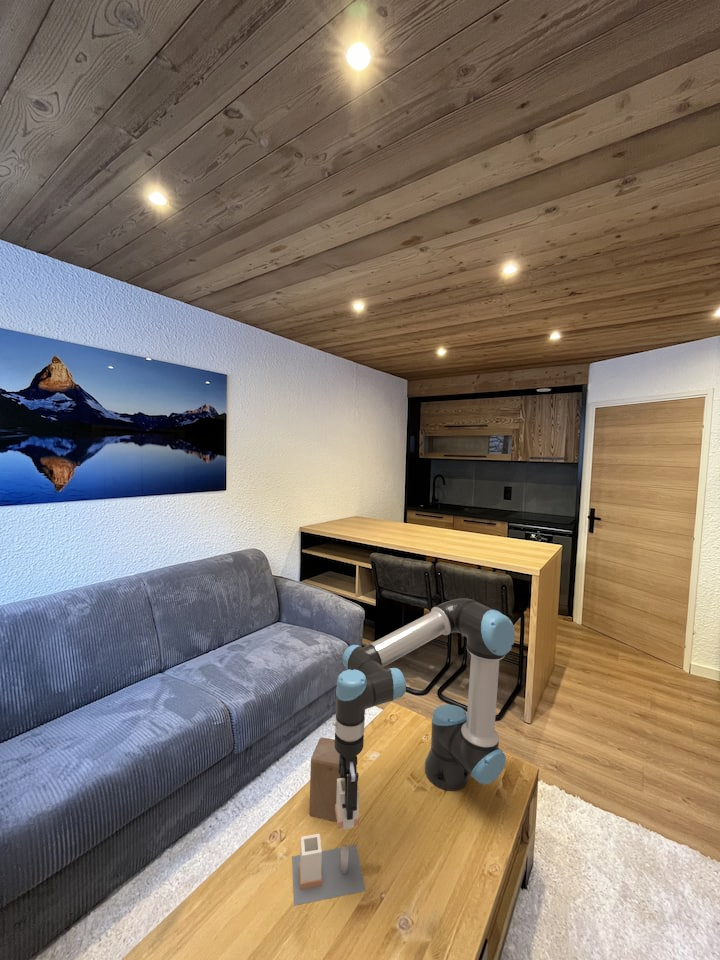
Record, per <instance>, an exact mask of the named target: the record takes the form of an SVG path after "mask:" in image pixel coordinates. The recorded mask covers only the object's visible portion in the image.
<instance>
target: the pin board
mask: <svg viewBox="0 0 720 960" xmlns="http://www.w3.org/2000/svg"><path fill="white" fill-rule="evenodd" d="M291 862H292V863H291V867H292V869H291V871H292V889H293V890H292V893H293V894H292V895H293V906H299V905H305V904H309V903H314V902H319V901H323V900H329V899H334V898H338V897H339V898H340V897H344V896H349V895H353V894H357V893H362V892H366V886H365V885H366V884H365V881H364V876H363V870H362V865H361V862H360V857H359V852H358V846H357V845H356V844H354V845H353V844H352V845H349V846H348V845H346V844H344V845H342V846H341V847H338V848H337V847H336V848H330V849H325V850H322V864H321V874H322V886H317V887H312V888H307V889H302V890H300V875H299V862H300V854H297V855H293V856H291Z"/></svg>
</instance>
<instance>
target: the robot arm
mask: <svg viewBox="0 0 720 960" xmlns="http://www.w3.org/2000/svg"><path fill="white" fill-rule="evenodd" d="M452 633H459V634H461V635H462V636H463V637H466V650H467V652H468V653H469V654H470V663H469V664H470V665H469V666H470V667H469V681H468V695H467V708H466V709H467V710H465V709H464V708H463V707H460V706H458V705H455V704H442V705H439V706H437V707H435V708H434V710H433V712H432V718H431V738H430V739H431V743H430V744H431V745H430V748H429V749H430V750H429V752H428V754H427V757H426V759H425V763H424V771H425V775H426V777H427V778H428V780H429V781H430V782H431V783H432V784H433V785H435V786H436V787H438V788H440V789H442V790H445V791H453V792H454V791H458V790H462V789H464V787H466V786H467V784H468V782H469V776H470V777H471V778H473V779H474V780H475V781H477V783H479V784H481V785H484V786H485V785H489V784H491V783H493V782H495V781H496V780H497V779H498V778H499V777H500V775H501V773H502V772H503V771H504V768H505V765H506V763H507V756H506V754H505V753H504V751H503V750H502V749H500V747H499V744H500V743H499V741H500V738H499V737H500V736H499V733H498V731H497V730H496V729H495V726H496V713H497V712H496V711H497V698H498V684H499V671H500V660H503V659H504V658H505V656H506V655H507V654H508V653H509V652H510V651H511V650H512V646H514V644H515V640H516V639H515V637H516V630H515V626H514V623H513V621H512V620H511V619H510V618H509V617H508V616H507V615H504V614H503V613H502V612H500V611H499V610H497V609H493V608H490V607H488V606H487V605H484V604H482V603H480V602H477V600H474V599H471V598H466V597H465V598H461V597H460V598H455V599H451V600H448V601H445V602H442V603H440V604H438V605H435V606H434V607H432V608H431V610H430V612H429V613H427V614H425V615H423V616H421V617H419V618H417V619H415V620H414V621H411V622H410V623H407V624H406V625H403V626H402V627H400V628H398V629H396V630H394V631H392V632H390V633H389V634H387V635H384V636H383V637H381V638H379V639H377V640H375V641H373V642H371V643H369V644H367V645H365V646H364V647H363V646H360V645H358V644H352V645H349V646H348V647H347V648H346V649H345V650H344V652H343V654H342V664H343V666H344V667H345V669H346V670H342V672H341V673H339V675H338V676H337V680H336V690H335V721H333V722H332V725H333V727H335V729H334V740H335V749H336V751H337V752H338V753H339V771H338V772H339V774H340V778H345V803H344V804H342V808H344V811H343V828H342V829H343V830H349V829H354V828H355V826H354V811H356V810H357V786H358V787H359V785H358V784H359V783H358V782H359V776H360V775H359V772H357V765H358V755H359V754H361V752H362V751H363V749H364V741H365V735H364V734H365V724H366V722H365V720H366V717H365V715H366V710H367V709H368V710H369V709H371V708H373V707H376V706H379V705H382V704H387V703H388V702H394V701H395V700H397V699H399V698H402V697H403V696H404V695H405V693H406V690H407V682H406V678H405V676H404V673H403V672H402V670H401V669H399V668H397V667H392V668H391V667H390V668H385V667H386V666H387V665H389V664H391V663H392V662H395V661H396V660H398V659H400V658H403V657H404V656H406V655H407V654H409V653H411V652H413V651H414V650H416V649H418V648H420V647H421V646H423V645H425V644H427V643H429V642H430V641H432V640H434V639H436V638H438V637H439V636H441V635H444V636H448V635H450V634H452ZM466 711H467V712H466Z"/></svg>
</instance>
